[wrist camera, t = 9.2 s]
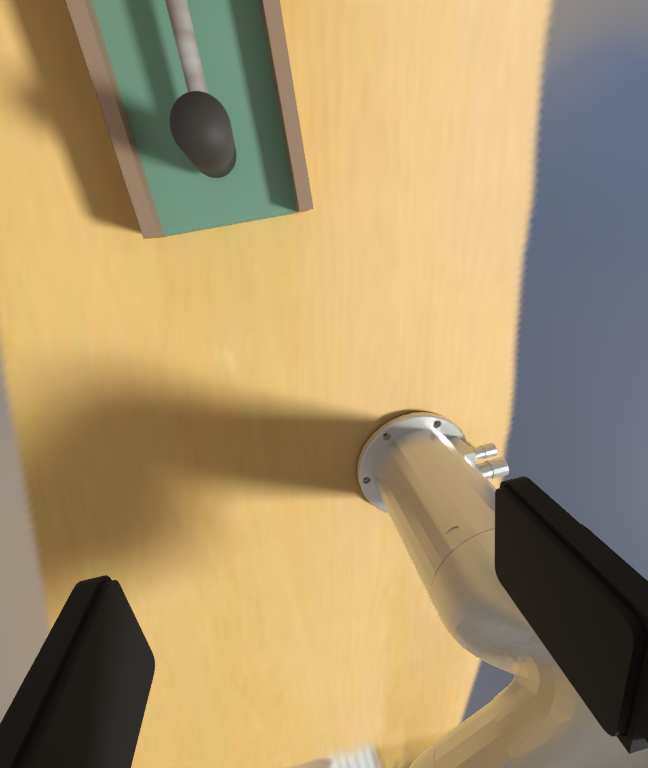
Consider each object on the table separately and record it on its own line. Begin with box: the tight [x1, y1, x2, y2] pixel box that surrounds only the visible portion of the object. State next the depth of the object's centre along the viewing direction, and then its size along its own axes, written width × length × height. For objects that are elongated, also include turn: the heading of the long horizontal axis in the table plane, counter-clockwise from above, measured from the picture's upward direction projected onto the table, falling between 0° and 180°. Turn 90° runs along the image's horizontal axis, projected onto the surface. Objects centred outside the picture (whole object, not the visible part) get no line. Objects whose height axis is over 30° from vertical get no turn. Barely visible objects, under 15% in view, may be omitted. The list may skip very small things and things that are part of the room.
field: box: [65, 0, 313, 239], centre depth 24 cm, size 12×26×5 cm, turn 9°
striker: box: [165, 0, 236, 178], centre depth 21 cm, size 6×15×8 cm, turn 10°
